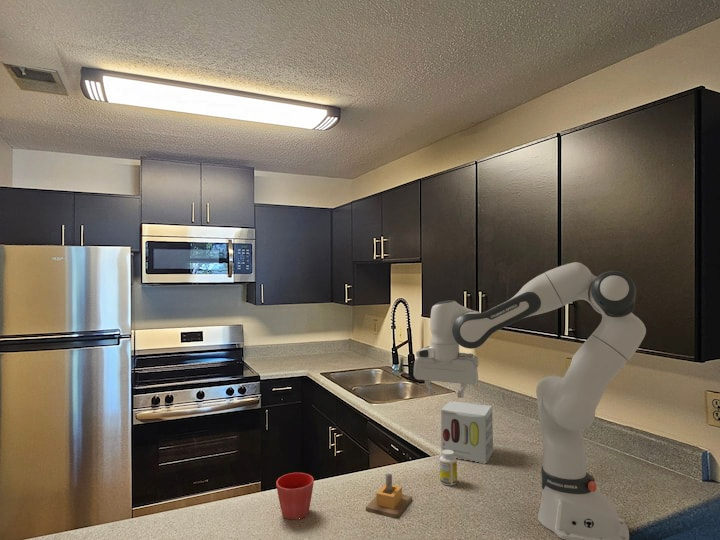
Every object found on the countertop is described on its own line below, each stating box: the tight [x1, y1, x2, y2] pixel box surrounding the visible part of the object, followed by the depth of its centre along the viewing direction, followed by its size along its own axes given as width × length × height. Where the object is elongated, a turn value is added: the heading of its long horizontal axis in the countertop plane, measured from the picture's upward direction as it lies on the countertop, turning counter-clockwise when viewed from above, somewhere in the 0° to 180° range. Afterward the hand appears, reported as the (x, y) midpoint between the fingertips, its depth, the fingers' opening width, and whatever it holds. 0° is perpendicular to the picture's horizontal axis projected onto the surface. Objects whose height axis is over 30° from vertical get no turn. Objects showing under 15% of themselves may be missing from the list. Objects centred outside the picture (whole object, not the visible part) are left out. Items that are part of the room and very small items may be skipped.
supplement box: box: [440, 400, 494, 464], centre depth 176 cm, size 17×13×18 cm
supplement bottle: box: [439, 450, 458, 487], centre depth 153 cm, size 6×6×10 cm
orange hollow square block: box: [375, 483, 403, 509], centre depth 139 cm, size 5×7×4 cm
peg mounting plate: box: [365, 473, 413, 519], centre depth 139 cm, size 10×12×9 cm
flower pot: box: [275, 472, 315, 520], centre depth 135 cm, size 11×11×10 cm
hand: (445, 395), depth 145 cm, fingers open, 8 cm apart
